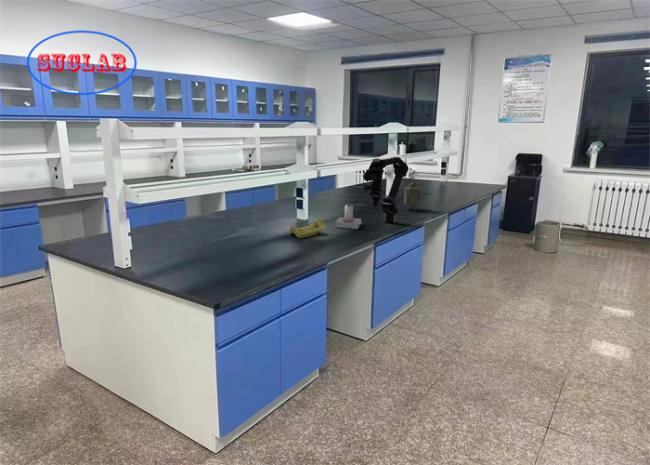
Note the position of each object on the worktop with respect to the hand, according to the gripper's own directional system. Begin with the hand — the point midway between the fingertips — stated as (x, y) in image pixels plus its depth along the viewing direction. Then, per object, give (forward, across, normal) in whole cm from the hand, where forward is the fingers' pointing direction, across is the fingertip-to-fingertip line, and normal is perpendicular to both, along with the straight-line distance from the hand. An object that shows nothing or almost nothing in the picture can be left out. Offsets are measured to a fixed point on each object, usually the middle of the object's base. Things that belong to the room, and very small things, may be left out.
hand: (375, 205), depth 263 cm
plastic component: (+14, +33, -34) cm, 49 cm away
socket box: (+13, +5, -16) cm, 21 cm away
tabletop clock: (+13, -61, +20) cm, 65 cm away
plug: (+12, +5, -16) cm, 21 cm away
